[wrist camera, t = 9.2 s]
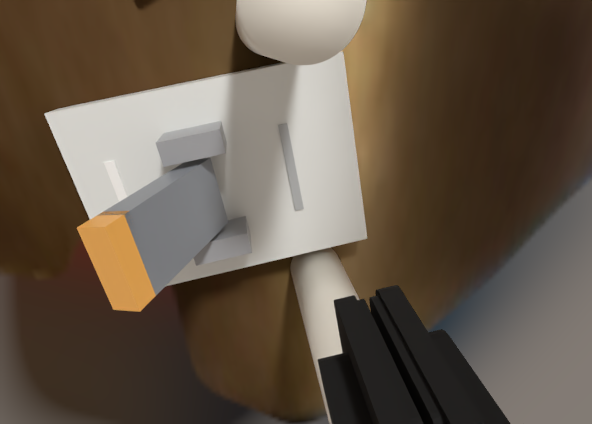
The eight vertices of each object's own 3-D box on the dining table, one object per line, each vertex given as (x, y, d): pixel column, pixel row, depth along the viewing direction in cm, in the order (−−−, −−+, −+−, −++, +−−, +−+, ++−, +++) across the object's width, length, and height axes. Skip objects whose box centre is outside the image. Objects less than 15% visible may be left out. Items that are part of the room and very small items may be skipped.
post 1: (293, -21, 25) (358, -94, 12) (304, 49, 26) (373, 52, 13) (228, -9, 24) (222, -69, 11) (243, 61, 26) (254, 76, 13)
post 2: (335, 238, 32) (405, 369, 19) (342, 281, 33) (411, 428, 20) (285, 250, 31) (322, 390, 19) (295, 292, 33) (334, 448, 20)
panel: (335, 51, 26) (356, 52, 22) (359, 227, 32) (380, 256, 27) (57, 108, 25) (21, 122, 21) (129, 281, 31) (112, 320, 26)
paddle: (210, 157, 25) (105, 227, 17) (228, 222, 26) (140, 311, 19) (188, 159, 25) (76, 227, 17) (207, 222, 27) (113, 309, 19)
